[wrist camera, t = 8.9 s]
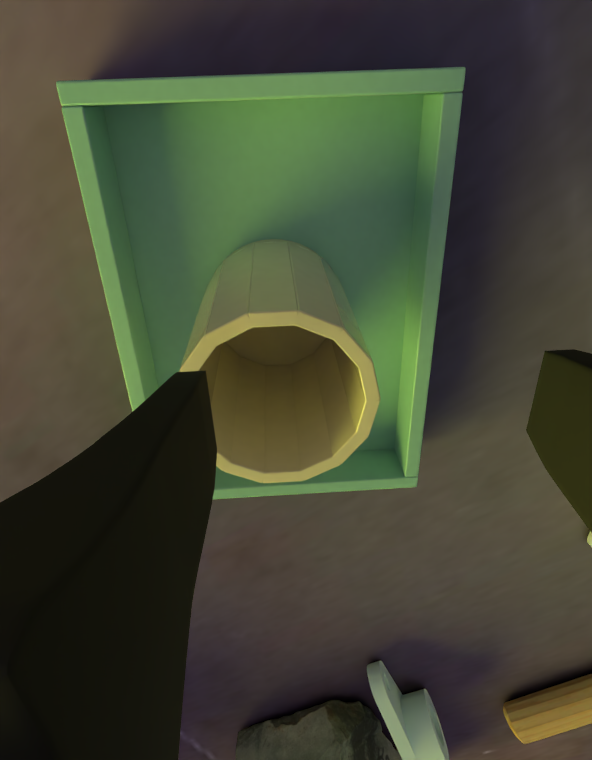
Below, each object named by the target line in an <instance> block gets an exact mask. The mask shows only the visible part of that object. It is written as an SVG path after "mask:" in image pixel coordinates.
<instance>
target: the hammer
mask: <svg viewBox="0 0 592 760" xmlns="http://www.w3.org/2000/svg"><path fill="white" fill-rule="evenodd" d="M503 712H504V715H505V718H506V720H507V722H508V724H509V726H510V728H511V730H512V731H513V733H514V734H515V736H516V737H517V738H518V739H519V740H520V741H521V742H522V743H524V744H528V743H531V742H534V741H537V740H540V739H543V738H546V737H550V736H553V735H556V734H559V733H562V732H565V731H568V730H571V729H575V728H578V727H581V726H584V725H587V724H590V723H592V674H589V675H586V676H583V677H580V678H577V679H574V680H571V681H568V682H565V683H562V684H559V685H556V686H553V687H550V688H547V689H544V690H541V691H538V692H535V693H532V694H529V695H526V696H523V697H520V698H517V699H514V700H511V701H508V702H505V703H504V707H503Z"/></svg>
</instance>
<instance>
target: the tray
mask: <svg viewBox="0 0 592 760" xmlns="http://www.w3.org/2000/svg"><path fill="white" fill-rule="evenodd" d="M465 72H466V69H465V67H445V68H416V69H387V70H359V71H330V72H301V73H272V74H244V75H215V76H186V77H157V78H129V79H100V80H71V81H57V82H56V85H57V90H58V94H59V98H60V103H61V105H62V106H63V107H62V112H63V116H64V120H65V125H66V129H67V133H68V138H69V142H70V146H71V150H72V155H73V159H74V163H75V168H76V172H77V176H78V180H79V185H80V189H81V193H82V198H83V202H84V206H85V210H86V215H87V219H88V223H89V228H90V232H91V236H92V240H93V245H94V249H95V253H96V258H97V262H98V266H99V270H100V275H101V279H102V283H103V288H104V292H105V296H106V300H107V305H108V309H109V313H110V318H111V322H112V326H113V330H114V335H115V339H116V343H117V348H118V352H119V356H120V360H121V365H122V369H123V373H124V378H125V382H126V386H127V390H128V395H129V399H130V403H131V408H132V412H133V411H134V410H135V409H136V408H137V407H138V406H140V405H141V404H142V403H143V402H144V401H145V400H146V399H147V398H148V397H150V396H151V395H152V394H153V393H154V392H155V391H156V390H157V389H158V388H159V387H160V386H161V385H162V384H164V383H165V382H166V381H167V380H168V379H169V378H170V377H171V376H172V375H174V374H175V373H176V372H179V370H180V367H181V364H182V361H183V358H184V354H185V351H186V348H187V345H188V342H189V339H190V336H191V333H192V330H193V327H194V324H195V321H196V317H197V314H198V311H199V308H200V305H201V302H202V299H203V296H204V293H205V290H206V287H207V284H208V283H209V281H210V280H211V278H212V276H213V274H214V272H215V270H216V269H217V268H218V266H219V265H220V264H221V262H222V261H223V260H224V259H225V258H226V257H227V256H229V255H230V254H231V253H232V252H234V251H235V250H237V249H239V248H240V247H242V246H244V245H247V244H249V243H252V242H256V241H260V240H267V239H282V240H289V241H293V242H296V243H299V244H302V245H304V246H306V247H308V248H310V249H311V250H313V251H315V252H316V253H317V254H318V255H320V256H321V257H322V258H323V259H324V260H325V261H326V262H327V263H328V264H329V266H330V267H331V268H332V270H333V271H334V273H335V275H336V276H337V277H338V278H339V280H340V282H341V285H342V287H343V290H344V292H345V294H346V297H347V299H348V302H349V304H350V307H351V309H352V311H353V314H354V316H355V319H356V321H357V324H358V326H359V329H360V331H361V333H362V336H363V338H364V341H365V343H366V346H367V348H368V350H369V353H370V355H371V358H372V360H373V363H374V368H375V373H376V378H377V383H378V387H379V392H380V397H381V398H380V403H379V407H378V410H377V413H376V416H375V419H374V422H373V425H372V428H371V431H370V434H369V436H368V438H367V439H366V440H365V441H364V442H363V443H362V444H361V445H360V446H359V447H358V448H357V449H356V450H355V451H354V452H353V453H352V454H351V455H350V456H349V457H348V458H347V459H346V460H345V461H344V462H343V463H342V464H341V465H339V466H337V467H335V468H332V469H330V470H328V471H326V472H323V473H321V474H319V475H316V476H314V477H312V478H309V479H307V480H303V481H294V482H278V483H263V482H262V483H260V482H256V481H253V480H249V479H246V478H243V477H239V476H236V475H233V474H229V473H226V472H224V471H222V470H221V469H219V468H218V467H217V466H216V476H215V489H214V494H213V499H226V498H243V497H259V496H276V495H292V494H309V493H325V492H342V491H359V490H375V489H392V488H408V487H417V482H418V473H419V465H420V456H421V447H422V439H423V430H424V422H425V413H426V405H427V396H428V388H429V379H430V371H431V362H432V354H433V345H434V336H435V328H436V319H437V311H438V302H439V294H440V285H441V277H442V268H443V260H444V251H445V243H446V234H447V225H448V217H449V208H450V200H451V191H452V183H453V174H454V166H455V157H456V149H457V140H458V132H459V123H460V114H461V106H462V97H463V94H462V91H463V89H464V80H465Z"/></svg>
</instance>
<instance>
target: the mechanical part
mask: <svg viewBox="0 0 592 760" xmlns="http://www.w3.org/2000/svg"><path fill="white" fill-rule="evenodd" d="M367 674H368V680H369V684H370V688H371V691H372V694H373V697H374V699H375V702H376V704H377V706H378V708H379V710H380V713H381V715H382V717H383V719H384V721H385V723H386V725H387V728H388V730H389V732H390V734H391V736H392V738H393V741H394V743H395V745H396V747H397V749H398V751H399V753H400V756H401V758H402V760H449V754H448V749H447V745H446V741H445V738H444V734H443V731H442V728H441V724H440V721H439V718H438V716H437V713H436V710H435V707H434V705H433V702H432V700H431V698H430V696H429V694H428V692H427V690H426V689H422V690H418V691H415V692H411V693H408V694H404V695H402V693H401V691H400V690H399V688H398V687H397V685H396V683H395V682H394V680H393V678H392V677H391V675H390V674H389V672H388V670H387V669H386V667H385V666H384V664H383V662H382V661H381V660H380V661H377V662H373V663H370V664H368V665H367Z"/></svg>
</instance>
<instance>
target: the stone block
mask: <svg viewBox="0 0 592 760" xmlns="http://www.w3.org/2000/svg"><path fill="white" fill-rule="evenodd" d="M236 760H402V758H401V756H400V753H399V752H398V751H397V750H395V749H394V747H393V745H392V743H391V742H390V741H389V740H388V739H387V738H386V737H385V735H384V734H383V733H382V726H381V723H380V720H378V719H377V718H376V717H375V716H374V714H373V712H372V711H371V710H370V708H368V707H366V706H363V705H362V704H361V703H360V702H359V701H357V702H353V703H350V702H347V703H345V702H343V701H340V700H330V701H328V702H325V703H323V704H321V705H316V706H314V707H312V708H309V709H305V710H302V711H297V712H296V713H294V714H293V715H290V716H284V717H281V718H280V719H272V720H267V721H265V722H263V723H258V724H255V725H253V726H251V727H249V728H247V729H244V730H241V731H239V732H238V737H237V745H236Z"/></svg>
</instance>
